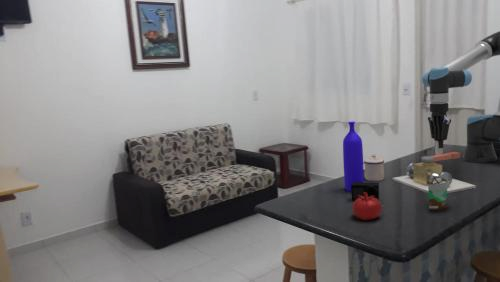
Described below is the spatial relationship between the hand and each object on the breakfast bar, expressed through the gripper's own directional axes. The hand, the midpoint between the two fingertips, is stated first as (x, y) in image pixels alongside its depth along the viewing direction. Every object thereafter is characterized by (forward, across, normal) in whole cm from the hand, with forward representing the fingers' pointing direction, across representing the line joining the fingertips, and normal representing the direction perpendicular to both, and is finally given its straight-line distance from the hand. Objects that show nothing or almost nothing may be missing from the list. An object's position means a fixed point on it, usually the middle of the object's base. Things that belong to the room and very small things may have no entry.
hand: (439, 154), depth 178 cm
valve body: (+9, +8, -11) cm, 16 cm away
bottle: (+11, 0, -42) cm, 43 cm away
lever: (0, +7, -5) cm, 8 cm away
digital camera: (+11, +15, -44) cm, 48 cm away
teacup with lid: (+11, -12, -27) cm, 31 cm away
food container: (+11, +33, -24) cm, 42 cm away
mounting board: (+11, +7, -9) cm, 16 cm away
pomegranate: (+11, +32, -52) cm, 62 cm away
